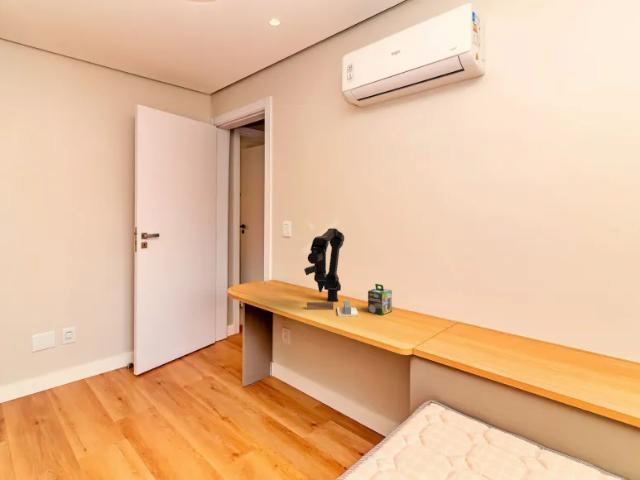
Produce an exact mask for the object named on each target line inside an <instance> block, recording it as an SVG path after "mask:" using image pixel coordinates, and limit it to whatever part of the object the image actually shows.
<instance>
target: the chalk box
mask: <svg viewBox="0 0 640 480" xmlns="http://www.w3.org/2000/svg"><path fill="white" fill-rule="evenodd" d="M374 286H375V288H372V289H370V290H368V291H367V307H368V308H367V312H368V313H373V314H376V315H380V316H384V315H387V314H389V313H392V311H393V304H392V303H393V301H392V300H393V299H392V298H393V290H392V289H387V288H384V285H383V284H380V283H375V284H374Z"/></svg>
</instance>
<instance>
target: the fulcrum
mask: <svg viewBox="0 0 640 480" xmlns="http://www.w3.org/2000/svg"><path fill="white" fill-rule="evenodd" d="M350 302H351V301H350V300H343V306H341V307H339V306H338V307H337V308H336V311H337V317H359V313H358V309H357V307H352V305H351V303H350Z"/></svg>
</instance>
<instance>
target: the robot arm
mask: <svg viewBox="0 0 640 480" xmlns="http://www.w3.org/2000/svg"><path fill="white" fill-rule="evenodd" d="M344 242H345V236H344V233H343V232H341V231H340V230H338V229H337V228H335V227H333V228H332V227H331V228H327V231H325V232H324V233H323V234H322V235H318V236H315V237H313V240H312V242H311V246H310V249H309V250H310V253H309V254H308V255H307V261H308V263H309V264H310V266H308V267H306V268H305V267H304V269H303V271H304V273H305V275H306V276H309V275H311V274H314V275H313V277H314V278H313V280H314V282H315V283H317V288H318V292H319V293H322V292H323V290H324V291H325V290H326V291H327V297H326V302H339V298H338V292H339V291H341V289H342V285H341V282H340V279H339V276H338V265H339V257H340V249H341V248H342V247H343V245H344ZM329 245H330V247H331V251H330V259H329V267H328V272H327V250H328V247H329ZM311 264H312V265H311Z"/></svg>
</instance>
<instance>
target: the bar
mask: <svg viewBox="0 0 640 480" xmlns="http://www.w3.org/2000/svg"><path fill="white" fill-rule="evenodd" d="M306 310H307V311H308V310H309V311H312V310H313V311H317V310H319V311H321V310H322V311H333V310H334V301H326V302H325V301H323V302H322V301H321V302H320V301H307V302H306Z"/></svg>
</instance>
